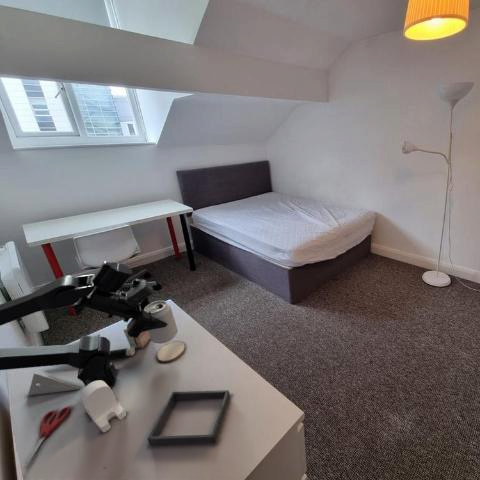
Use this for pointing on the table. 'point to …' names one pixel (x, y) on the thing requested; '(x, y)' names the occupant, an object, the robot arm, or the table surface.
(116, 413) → the white phone stand
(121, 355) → the knife
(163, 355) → the cork coaster
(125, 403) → the table surface
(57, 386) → the grey triangular spike
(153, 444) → the dark grey rectangular frame
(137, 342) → the small box
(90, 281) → the robot arm
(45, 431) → the scissors
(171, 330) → the can
